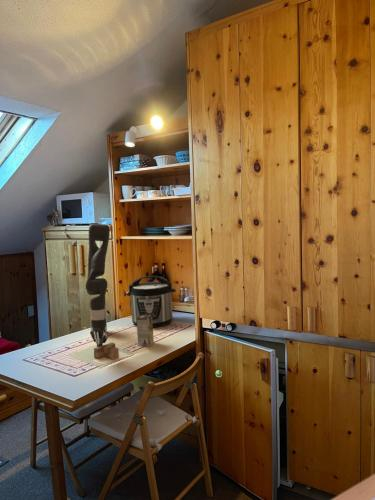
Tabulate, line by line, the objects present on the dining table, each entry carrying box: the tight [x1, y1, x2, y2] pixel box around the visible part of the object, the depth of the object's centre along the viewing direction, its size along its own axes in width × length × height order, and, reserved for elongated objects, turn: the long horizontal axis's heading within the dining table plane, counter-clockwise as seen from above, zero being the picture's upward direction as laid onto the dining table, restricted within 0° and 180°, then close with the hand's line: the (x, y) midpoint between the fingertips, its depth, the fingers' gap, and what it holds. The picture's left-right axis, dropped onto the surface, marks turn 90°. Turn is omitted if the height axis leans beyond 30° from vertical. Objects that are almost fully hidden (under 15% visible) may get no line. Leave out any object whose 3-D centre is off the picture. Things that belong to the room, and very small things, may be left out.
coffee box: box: [136, 315, 155, 349], centre depth 208 cm, size 9×6×16 cm
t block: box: [94, 342, 119, 361], centre depth 189 cm, size 10×11×5 cm
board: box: [66, 343, 134, 369], centre depth 194 cm, size 27×22×1 cm
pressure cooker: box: [125, 275, 176, 328], centre depth 252 cm, size 30×28×32 cm
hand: (100, 350), depth 194 cm, fingers closed
